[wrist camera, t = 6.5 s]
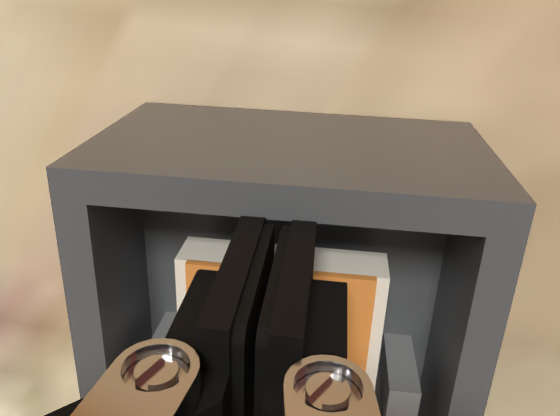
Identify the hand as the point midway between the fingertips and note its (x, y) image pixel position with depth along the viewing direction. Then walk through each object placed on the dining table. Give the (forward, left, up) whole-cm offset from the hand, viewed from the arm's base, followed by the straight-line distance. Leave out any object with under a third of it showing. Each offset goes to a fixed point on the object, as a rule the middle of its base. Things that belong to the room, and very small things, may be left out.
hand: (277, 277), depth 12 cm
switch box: (-4, 0, -6) cm, 7 cm away
